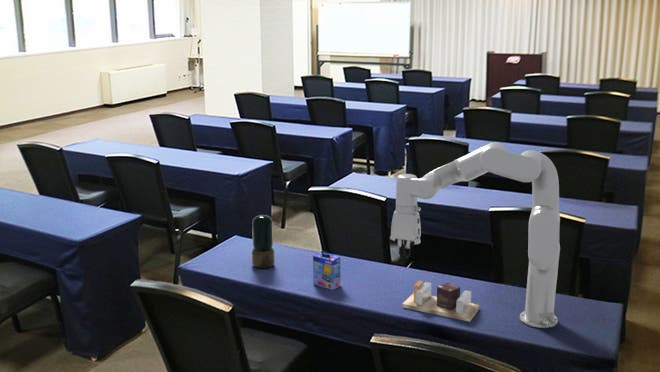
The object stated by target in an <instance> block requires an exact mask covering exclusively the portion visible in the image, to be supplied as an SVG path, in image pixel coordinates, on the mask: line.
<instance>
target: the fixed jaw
mask: <svg viewBox="0 0 660 372" xmlns="http://www.w3.org/2000/svg"><path fill="white" fill-rule="evenodd" d="M471 303H472V291H471V290H463V292H461V293H460V297H459V298H458V299H457V303H456V314H461V315H463V314H464V312H465V311H466V310H467V308H468V307H469V306H470V304H471Z"/></svg>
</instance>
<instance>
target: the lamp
mask: <svg viewBox="0 0 660 372" xmlns="http://www.w3.org/2000/svg"><path fill="white" fill-rule="evenodd" d="M251 223H252V228H251V229H252V247H253V248H252V250H251V264H252V266H253V267H255V268H256V269H261V268H264V269H268V268H271V267H273V266H274V264H275V262H276V261H275V258H276V257H275V249H274V247H273V245H274V229H273V228H274V227H273V226H274V225H273V224H274V223H273V220H272V217H270V216H269V215H267V214H259V215H257V216H255V217H254V218H253V219H252V222H251Z"/></svg>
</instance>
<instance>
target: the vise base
mask: <svg viewBox="0 0 660 372" xmlns="http://www.w3.org/2000/svg"><path fill="white" fill-rule="evenodd" d="M415 303H416V301H414V292H413V293H411V295H410V296H409V297H407V299H405V300H404V301H403V303H402V306H401V307H402V309H407V310H413V311H417V312H422V313H427V314H431V315H437V316H439V317H440V316H441V317H446V318H450V319H451V318H452V319H454V320H455V319H456V320H460V321H465V322H471V321H472V319H473V318H474V317H475V316H476V314H477V312H478V311H479V310H480V304H477V303H473V302H471V304H470V306H469V307H468V308H467V310H466V311H465V312H464V314H463V315H461V314H456V307H455V308H453V309H451V310H448V309H445V308H443V307H440V306H438V305H437V295H432V294H431V296H430V297H429V298H428V299H427V301H426V302H425V303H424V304H423V305H422V306H421V305H416V304H415Z"/></svg>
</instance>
